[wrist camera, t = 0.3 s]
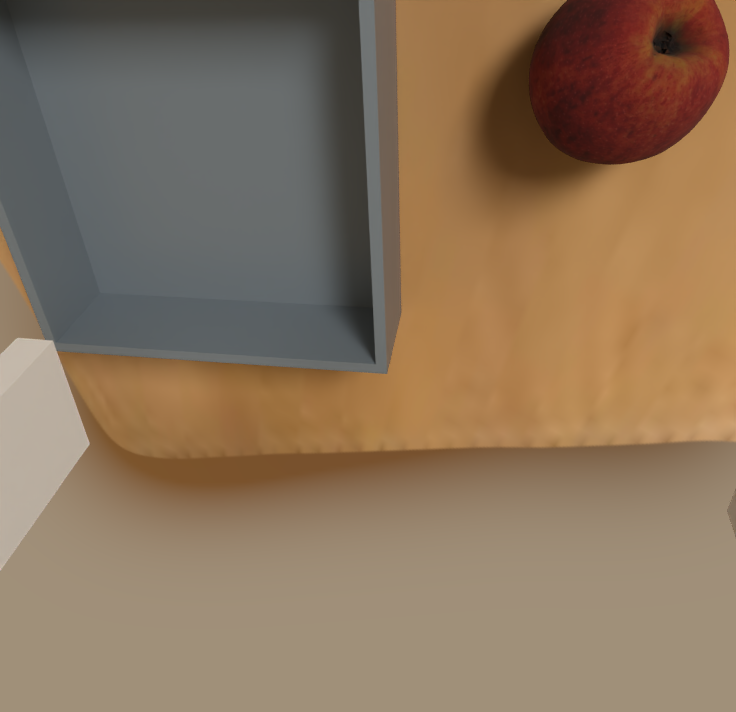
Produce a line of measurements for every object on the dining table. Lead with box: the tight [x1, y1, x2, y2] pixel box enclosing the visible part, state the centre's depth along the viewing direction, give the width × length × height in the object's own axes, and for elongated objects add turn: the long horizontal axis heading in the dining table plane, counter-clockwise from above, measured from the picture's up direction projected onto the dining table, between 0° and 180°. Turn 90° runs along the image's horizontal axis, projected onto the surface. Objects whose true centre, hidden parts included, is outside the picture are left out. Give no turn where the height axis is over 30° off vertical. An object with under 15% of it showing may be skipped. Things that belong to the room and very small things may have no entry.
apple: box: [529, 0, 729, 164], centre depth 29 cm, size 7×8×8 cm
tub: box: [0, 0, 401, 374], centre depth 35 cm, size 20×20×6 cm
